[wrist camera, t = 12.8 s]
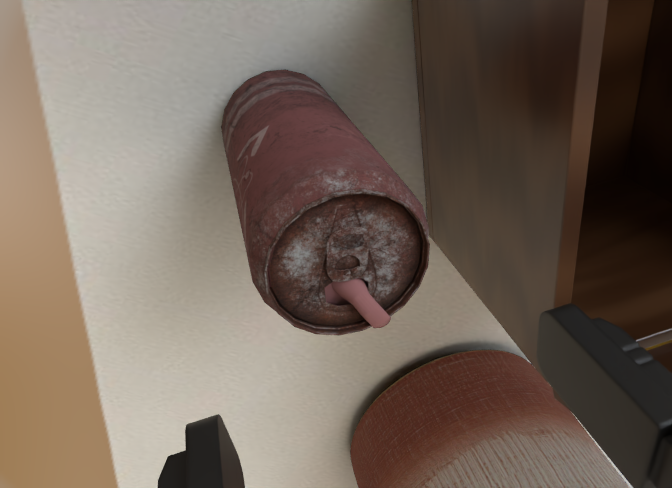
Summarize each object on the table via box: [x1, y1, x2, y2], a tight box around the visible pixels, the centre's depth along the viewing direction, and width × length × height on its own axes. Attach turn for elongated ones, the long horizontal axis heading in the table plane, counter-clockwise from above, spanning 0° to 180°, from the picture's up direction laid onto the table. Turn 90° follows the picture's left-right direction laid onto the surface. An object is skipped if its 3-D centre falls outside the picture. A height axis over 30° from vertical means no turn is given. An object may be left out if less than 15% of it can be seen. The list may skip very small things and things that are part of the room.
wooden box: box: [412, 0, 672, 382], centre depth 25 cm, size 18×15×13 cm
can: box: [221, 70, 430, 335], centre depth 22 cm, size 6×6×14 cm
